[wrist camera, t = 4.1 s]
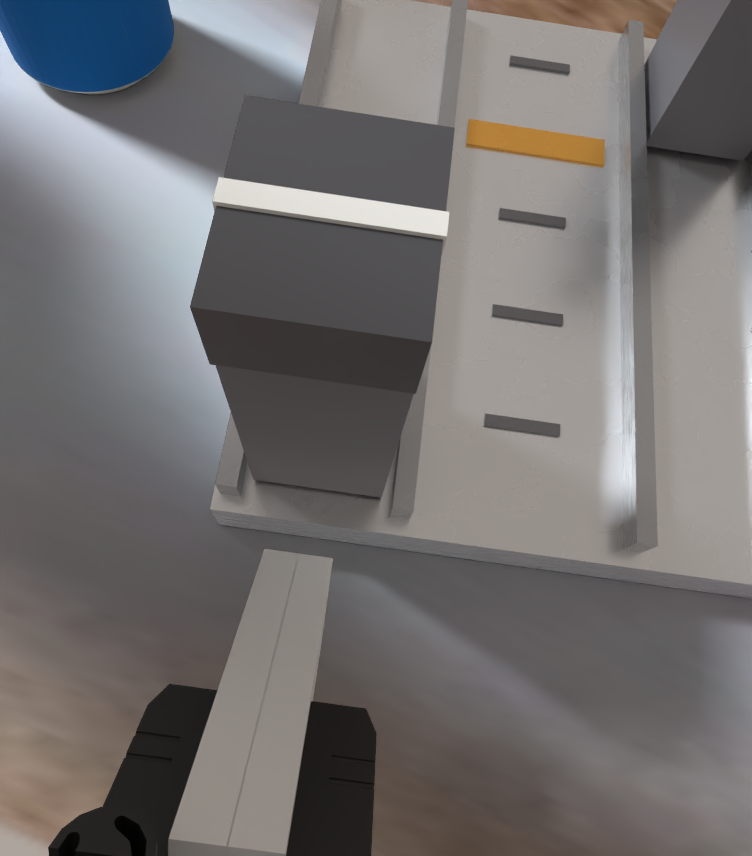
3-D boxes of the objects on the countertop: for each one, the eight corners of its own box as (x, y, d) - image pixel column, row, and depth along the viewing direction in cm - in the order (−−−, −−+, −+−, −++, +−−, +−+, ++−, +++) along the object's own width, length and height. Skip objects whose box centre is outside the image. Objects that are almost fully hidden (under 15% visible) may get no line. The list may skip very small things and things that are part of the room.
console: (219, 524, 22) (204, 500, 19) (323, 31, 30) (324, -38, 27) (773, 601, 22) (838, 588, 19) (728, 94, 30) (770, 33, 27)
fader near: (250, 485, 20) (185, 302, 10) (276, 352, 21) (241, 90, 12) (382, 504, 20) (435, 339, 11) (399, 370, 22) (458, 123, 12)
